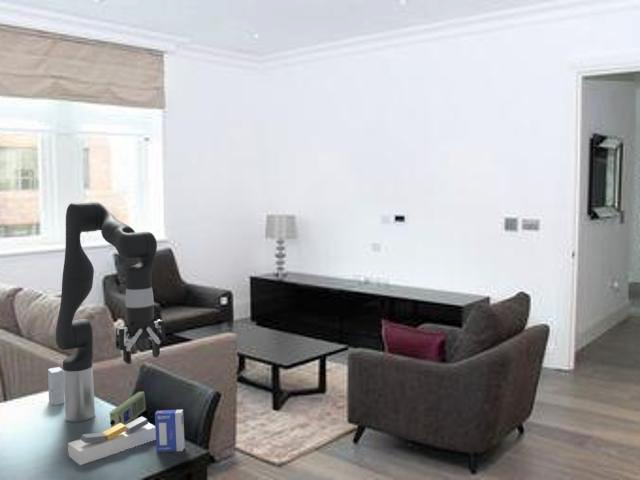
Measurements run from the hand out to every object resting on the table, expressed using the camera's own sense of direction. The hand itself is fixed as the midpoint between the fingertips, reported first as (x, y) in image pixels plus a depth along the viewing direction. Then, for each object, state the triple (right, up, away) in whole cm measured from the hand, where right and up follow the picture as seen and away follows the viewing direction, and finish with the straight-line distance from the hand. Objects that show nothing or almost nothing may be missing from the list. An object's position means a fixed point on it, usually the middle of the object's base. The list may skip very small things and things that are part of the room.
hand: (142, 360), depth 177 cm
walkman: (+6, -28, +9) cm, 30 cm away
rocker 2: (-5, -24, +14) cm, 28 cm away
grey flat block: (-15, -25, +4) cm, 30 cm away
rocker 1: (-10, -24, +9) cm, 28 cm away
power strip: (-11, -28, +11) cm, 32 cm away
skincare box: (-45, -25, +49) cm, 71 cm away
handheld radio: (-14, -27, +29) cm, 42 cm away
